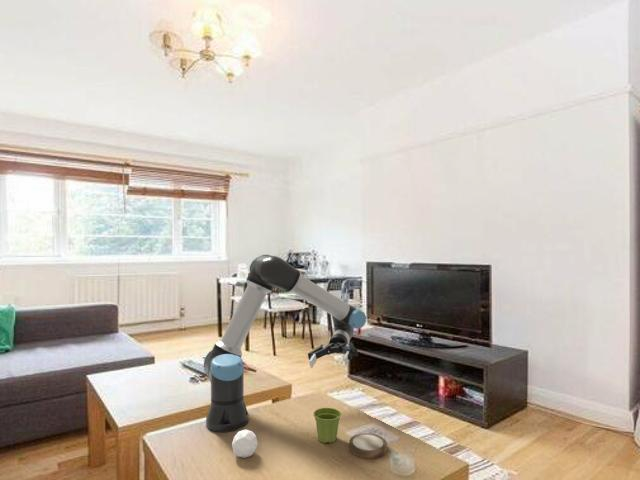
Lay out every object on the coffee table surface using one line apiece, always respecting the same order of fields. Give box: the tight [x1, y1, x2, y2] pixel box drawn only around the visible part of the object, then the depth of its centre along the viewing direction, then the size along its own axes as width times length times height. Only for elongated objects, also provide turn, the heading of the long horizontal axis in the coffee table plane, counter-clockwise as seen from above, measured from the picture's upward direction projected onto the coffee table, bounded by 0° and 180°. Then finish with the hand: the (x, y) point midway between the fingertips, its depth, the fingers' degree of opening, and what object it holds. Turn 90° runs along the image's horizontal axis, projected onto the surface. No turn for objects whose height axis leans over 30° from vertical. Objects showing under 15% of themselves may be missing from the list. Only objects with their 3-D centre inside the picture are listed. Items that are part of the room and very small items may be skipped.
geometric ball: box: [231, 429, 259, 459], centre depth 126 cm, size 8×8×8 cm
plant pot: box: [313, 407, 343, 444], centre depth 137 cm, size 9×9×9 cm
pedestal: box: [348, 432, 388, 460], centre depth 130 cm, size 12×12×2 cm
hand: (327, 363), depth 153 cm, fingers open, 13 cm apart
